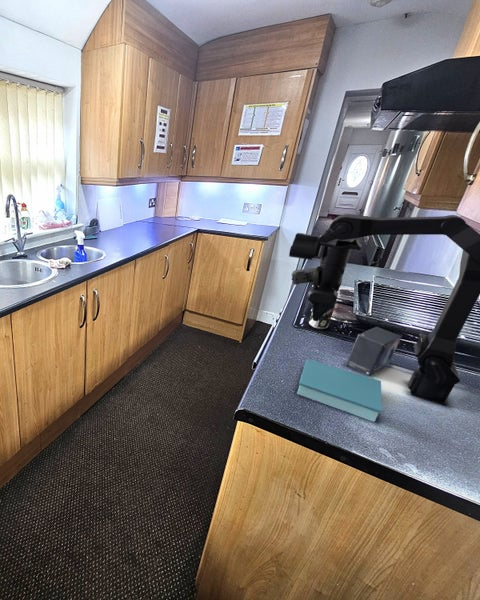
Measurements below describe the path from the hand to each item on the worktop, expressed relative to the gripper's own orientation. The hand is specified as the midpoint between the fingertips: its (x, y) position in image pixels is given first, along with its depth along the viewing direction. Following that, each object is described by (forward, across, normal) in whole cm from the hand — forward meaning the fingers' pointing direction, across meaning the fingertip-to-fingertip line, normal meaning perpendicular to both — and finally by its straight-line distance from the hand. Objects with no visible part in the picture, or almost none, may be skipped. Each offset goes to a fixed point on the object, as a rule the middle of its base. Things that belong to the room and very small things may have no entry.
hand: (317, 315), depth 94 cm
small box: (+14, -6, +15) cm, 21 cm away
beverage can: (+14, -26, +1) cm, 29 cm away
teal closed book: (+14, +14, +9) cm, 22 cm away
